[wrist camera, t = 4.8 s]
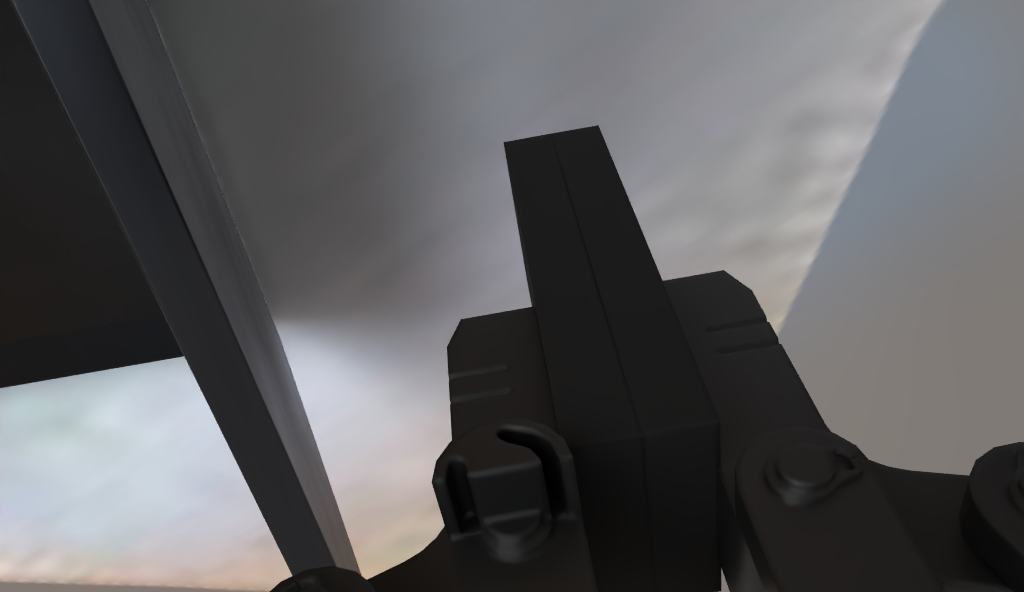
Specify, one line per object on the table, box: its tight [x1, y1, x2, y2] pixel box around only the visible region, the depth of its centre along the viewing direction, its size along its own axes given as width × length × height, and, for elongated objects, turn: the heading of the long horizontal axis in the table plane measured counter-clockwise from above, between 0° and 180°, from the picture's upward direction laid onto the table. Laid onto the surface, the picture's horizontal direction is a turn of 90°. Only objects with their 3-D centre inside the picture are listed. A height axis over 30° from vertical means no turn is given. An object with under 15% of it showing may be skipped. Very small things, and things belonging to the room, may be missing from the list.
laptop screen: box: [9, 0, 362, 576], centre depth 21 cm, size 22×32×1 cm
